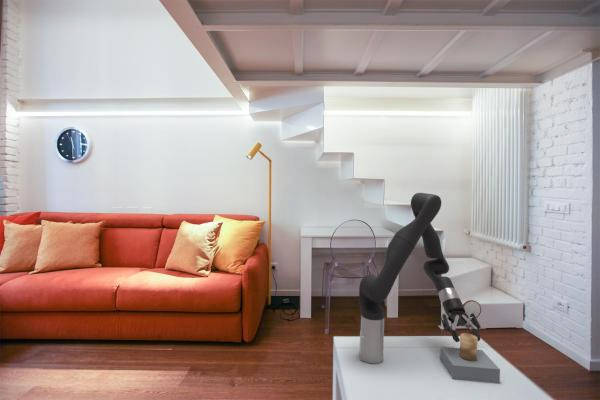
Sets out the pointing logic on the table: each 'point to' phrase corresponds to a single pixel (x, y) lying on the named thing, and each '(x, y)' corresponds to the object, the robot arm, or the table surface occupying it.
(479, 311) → the magnifying glass
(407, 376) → the table surface
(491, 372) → the board
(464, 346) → the peg
